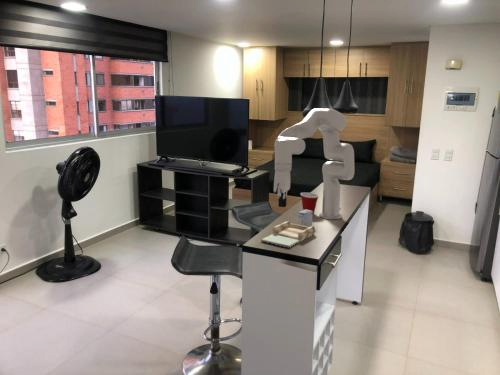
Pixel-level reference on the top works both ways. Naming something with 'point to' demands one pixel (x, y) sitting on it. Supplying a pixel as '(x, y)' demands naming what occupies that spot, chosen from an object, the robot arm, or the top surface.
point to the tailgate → (280, 240)
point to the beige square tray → (293, 230)
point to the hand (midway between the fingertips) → (282, 206)
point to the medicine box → (305, 218)
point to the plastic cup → (309, 201)
